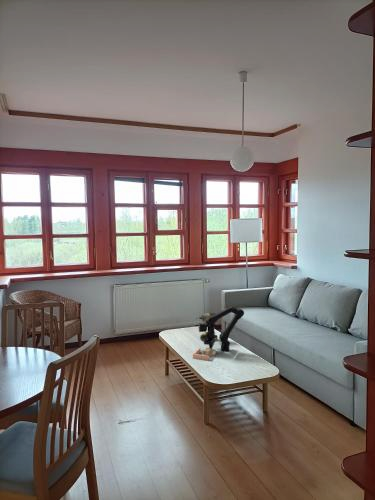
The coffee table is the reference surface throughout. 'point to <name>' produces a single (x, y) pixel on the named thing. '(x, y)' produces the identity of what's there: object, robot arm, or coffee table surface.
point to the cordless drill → (204, 319)
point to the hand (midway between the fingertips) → (210, 349)
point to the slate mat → (208, 355)
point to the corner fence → (197, 356)
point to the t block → (209, 352)
